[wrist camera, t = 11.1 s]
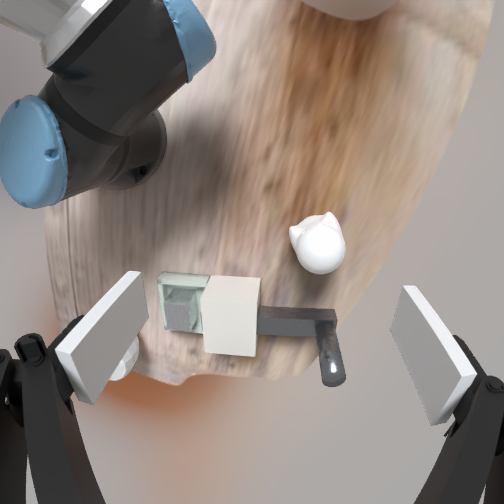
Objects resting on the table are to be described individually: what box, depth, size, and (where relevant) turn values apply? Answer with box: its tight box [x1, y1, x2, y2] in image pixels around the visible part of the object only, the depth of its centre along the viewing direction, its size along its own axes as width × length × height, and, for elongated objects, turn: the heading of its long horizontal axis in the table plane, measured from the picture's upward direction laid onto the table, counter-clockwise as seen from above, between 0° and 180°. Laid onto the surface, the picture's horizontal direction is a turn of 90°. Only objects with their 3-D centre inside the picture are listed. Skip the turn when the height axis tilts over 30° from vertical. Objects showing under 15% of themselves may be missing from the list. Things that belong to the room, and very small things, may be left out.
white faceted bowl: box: [109, 336, 139, 381], centre depth 51 cm, size 12×12×10 cm
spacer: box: [163, 288, 198, 332], centre depth 47 cm, size 5×5×4 cm
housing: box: [200, 275, 261, 357], centre depth 46 cm, size 8×10×8 cm
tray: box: [157, 272, 210, 334], centre depth 49 cm, size 8×10×3 cm
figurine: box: [289, 212, 346, 274], centre depth 39 cm, size 7×8×12 cm
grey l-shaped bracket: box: [201, 306, 346, 387], centre depth 40 cm, size 20×3×14 cm, turn 89°
